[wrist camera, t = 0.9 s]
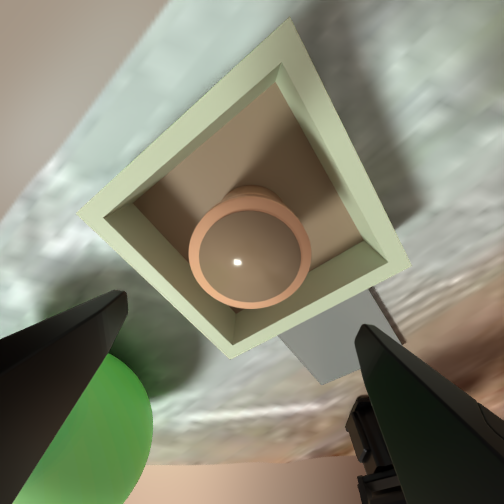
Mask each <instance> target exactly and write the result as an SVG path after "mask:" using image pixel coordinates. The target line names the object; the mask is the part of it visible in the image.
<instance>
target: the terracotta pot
mask: <svg viewBox="0 0 504 504" xmlns="http://www.w3.org/2000/svg"><path fill="white" fill-rule="evenodd" d="M189 263H190V267H191V270H192V272H193V275H194V277H195V279H196V280H197V282H198V283H199V285H200V286H201V287H202V288H203V289H204V290H205V291H206V292H207V293H208V294H209V295H210V296H212V297H213V298H215V299H216V300H218V301H220V302H222V303H224V304H227V305H230V306H233V307H237V308H244V309H258V308H264V307H269V306H272V305H275V304H277V303H279V302H281V301H283V300H285V299H287V298H288V297H289V296H291V295H292V294H293V293H294V292H295V291H296V290H297V289H298V288H299V287H300V286H301V284H302V283H303V281H304V280H305V278H306V276H307V274H308V271H309V268H310V265H311V244H310V240H309V237H308V235H307V233H306V231H305V229H304V227H303V225H302V223H301V222H300V220H299V219H298V217H297V216H296V215H295V213H294V212H293V211H292V210H291V209H290V208H288V207H287V206H286V205H285V204H284V203H283V201H282V200H281V198H280V197H279V196H278V195H277V194H276V193H274V192H273V191H271V190H270V189H268V188H266V187H263V186H259V185H244V186H240V187H238V188H235V189H233V190H232V191H230V192H229V193H228V194H226V195H225V196H224V197H223V199H222V200H221V201H220V202H219V203H217V204H216V205H214V206H213V207H212V208H211V209H210V210H209V211H208V212H207V213H206V214H205V215H204V216H203V218H202V219H201V221H200V222H199V223H198V225H197V226H196V228H195V230H194V232H193V234H192V237H191V240H190V244H189Z"/></svg>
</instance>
